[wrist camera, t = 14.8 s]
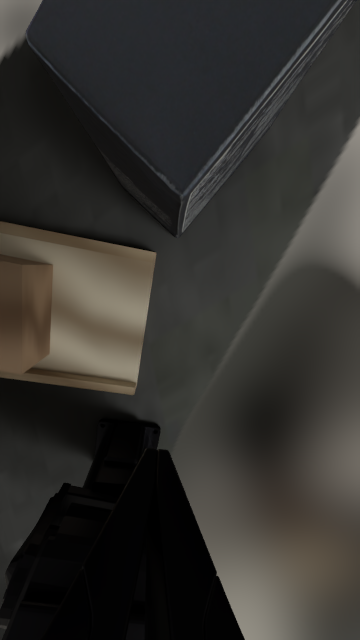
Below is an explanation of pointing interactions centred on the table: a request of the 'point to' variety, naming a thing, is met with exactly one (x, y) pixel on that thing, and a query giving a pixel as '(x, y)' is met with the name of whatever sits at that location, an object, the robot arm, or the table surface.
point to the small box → (179, 84)
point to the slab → (24, 313)
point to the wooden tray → (88, 308)
